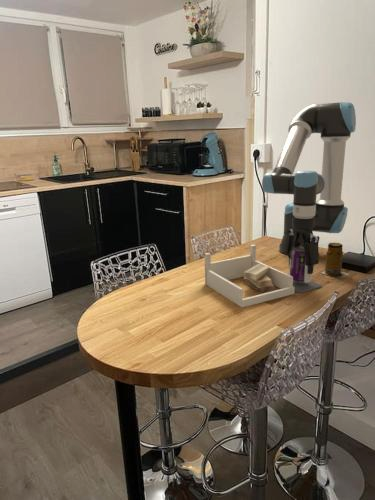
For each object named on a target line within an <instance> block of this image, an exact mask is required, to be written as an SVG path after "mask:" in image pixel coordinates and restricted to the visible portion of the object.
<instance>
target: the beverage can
mask: <svg viewBox="0 0 375 500" xmlns="http://www.w3.org/2000/svg"><path fill="white" fill-rule="evenodd" d="M310 262H311V261H310ZM305 264H307V261H306V255H305V251H304V247H303V246H298V247H293V250H292V252H291V265H290V266H289V268H290V276H293V280H294V281H296V282H304V274H305Z"/></svg>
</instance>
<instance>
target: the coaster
mask: <svg viewBox="0 0 375 500" xmlns="http://www.w3.org/2000/svg"><path fill="white" fill-rule="evenodd" d="M293 287H295V289H294V293H297V294H301V293H305V292H309V291H313V290H316V289H317V290H318V289H320V288H322V287H323V286H322V284H320V283H317V282H314V281H312V280H311V281H310V282H306V283H305V282H296V281H294V280H293Z"/></svg>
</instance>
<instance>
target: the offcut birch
mask: <svg viewBox="0 0 375 500" xmlns="http://www.w3.org/2000/svg"><path fill="white" fill-rule="evenodd" d="M265 265H266V264H265ZM265 265H260V264H258V265H256V266H254V267H252V268H251V269H249V270H247V271H245V272H244V276H243V278H245V279H249V280H254V281H257V280H258V279H260V278H262V277H263V276H265V275H267V274H268V273H270V267H271V266H270V265H268V266H265Z"/></svg>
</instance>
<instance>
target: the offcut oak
mask: <svg viewBox="0 0 375 500" xmlns="http://www.w3.org/2000/svg"><path fill="white" fill-rule="evenodd" d="M250 281H251V282H252V283H253V284H254V285H255V286H257V287H258V288H263V287H270V286H272V280H271V279H270V278H268V277H267V276H266V275H265V276H263V277H262V278H260V279H258V280H257V281H254V280H250Z"/></svg>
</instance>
